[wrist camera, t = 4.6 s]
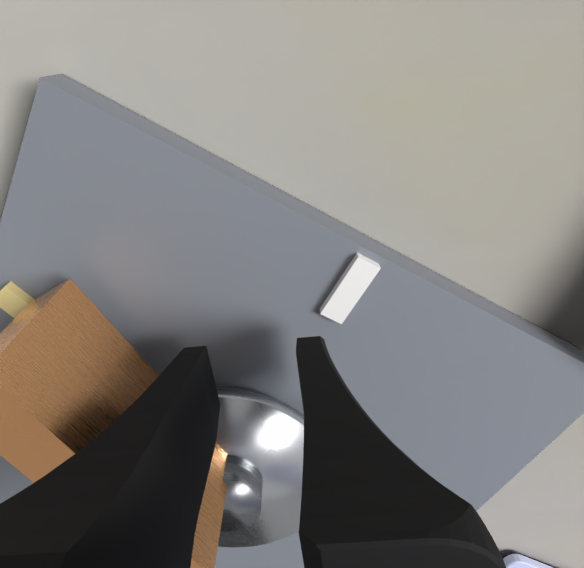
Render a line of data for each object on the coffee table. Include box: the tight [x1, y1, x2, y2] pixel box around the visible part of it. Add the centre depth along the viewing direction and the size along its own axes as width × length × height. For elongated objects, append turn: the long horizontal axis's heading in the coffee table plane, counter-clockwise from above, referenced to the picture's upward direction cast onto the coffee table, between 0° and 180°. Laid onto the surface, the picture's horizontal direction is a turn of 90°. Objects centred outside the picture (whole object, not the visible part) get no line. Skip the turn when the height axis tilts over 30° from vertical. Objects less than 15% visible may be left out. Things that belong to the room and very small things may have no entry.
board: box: [0, 74, 584, 568], centre depth 17 cm, size 18×16×2 cm
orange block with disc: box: [0, 278, 304, 568], centre depth 13 cm, size 12×7×4 cm, turn 31°
